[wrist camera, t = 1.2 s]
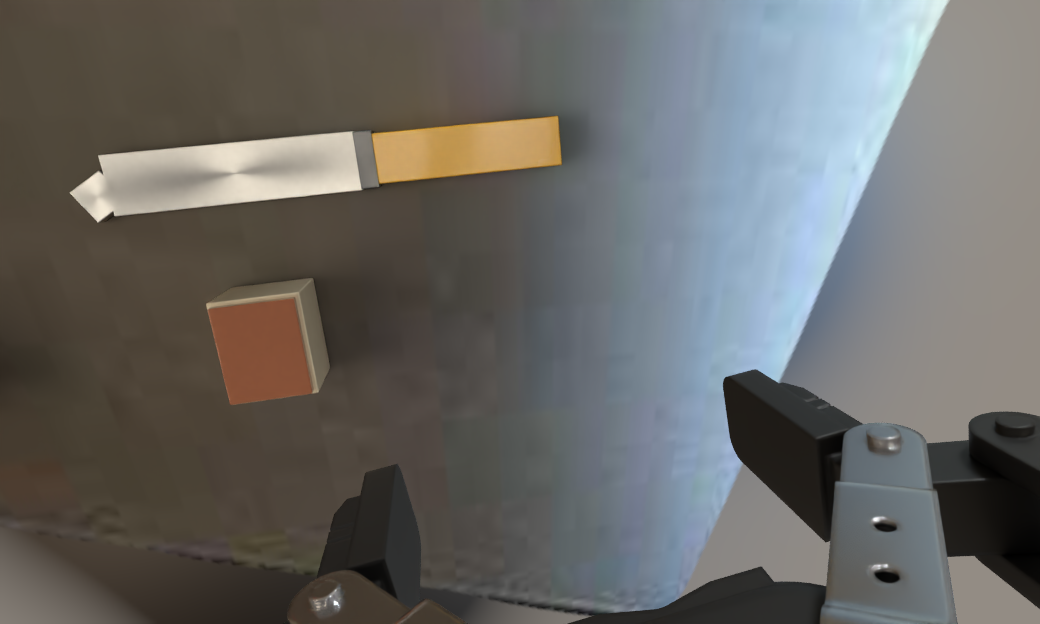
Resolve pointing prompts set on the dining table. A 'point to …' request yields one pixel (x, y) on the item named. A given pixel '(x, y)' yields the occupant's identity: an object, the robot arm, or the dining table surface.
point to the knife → (310, 165)
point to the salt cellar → (269, 340)
